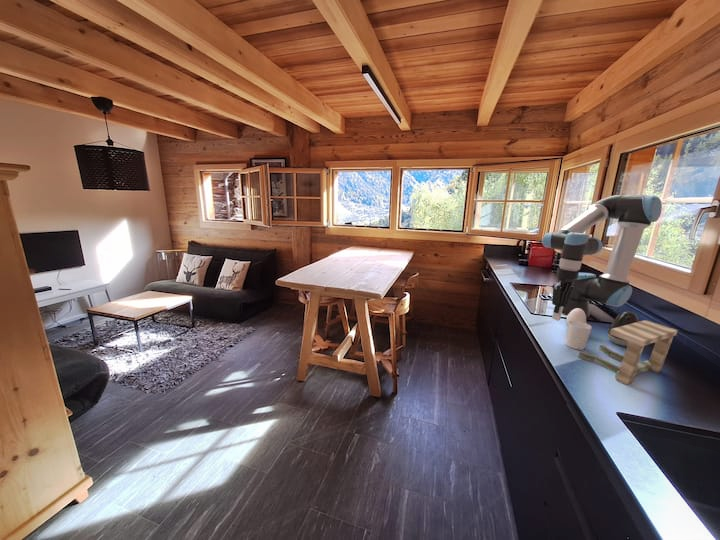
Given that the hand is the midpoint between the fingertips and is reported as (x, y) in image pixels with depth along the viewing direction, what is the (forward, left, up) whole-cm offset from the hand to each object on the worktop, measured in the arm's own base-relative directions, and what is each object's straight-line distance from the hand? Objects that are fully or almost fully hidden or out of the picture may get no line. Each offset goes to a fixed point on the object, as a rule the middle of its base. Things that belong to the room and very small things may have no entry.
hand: (555, 319), depth 128 cm
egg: (-15, 0, -9) cm, 18 cm away
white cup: (0, +9, -9) cm, 13 cm away
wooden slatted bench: (0, +24, -8) cm, 26 cm away
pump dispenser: (-23, +15, -9) cm, 29 cm away
